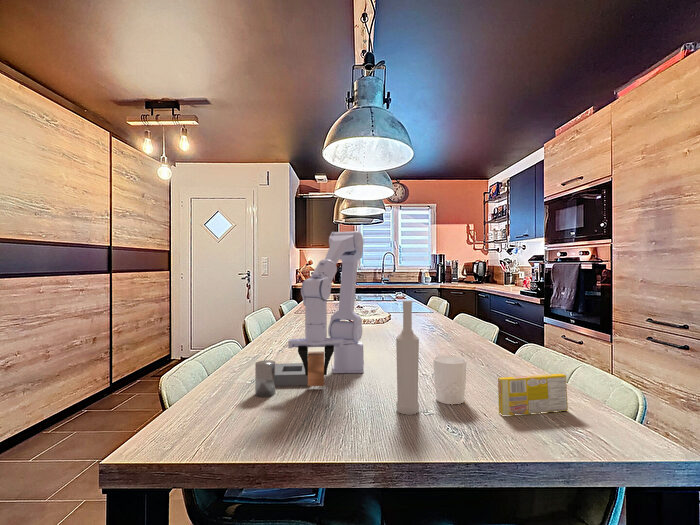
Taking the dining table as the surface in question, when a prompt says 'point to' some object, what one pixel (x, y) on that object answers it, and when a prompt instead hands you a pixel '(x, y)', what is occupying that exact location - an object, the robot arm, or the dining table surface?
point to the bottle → (407, 365)
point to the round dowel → (265, 378)
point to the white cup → (450, 379)
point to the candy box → (532, 394)
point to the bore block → (290, 374)
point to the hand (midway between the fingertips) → (316, 374)
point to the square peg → (316, 368)
